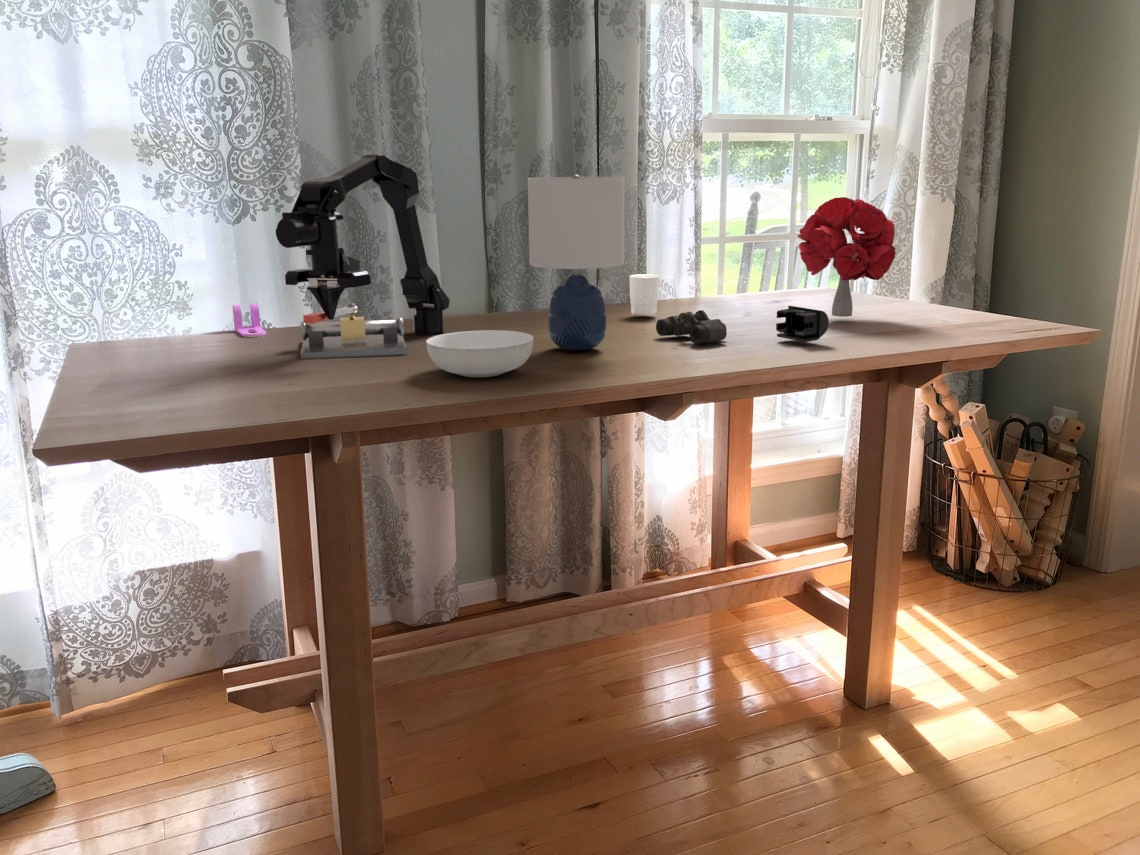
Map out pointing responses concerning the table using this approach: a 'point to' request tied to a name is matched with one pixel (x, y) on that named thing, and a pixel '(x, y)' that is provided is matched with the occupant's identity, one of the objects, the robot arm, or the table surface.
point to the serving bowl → (480, 352)
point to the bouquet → (848, 245)
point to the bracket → (254, 317)
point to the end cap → (802, 324)
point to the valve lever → (322, 316)
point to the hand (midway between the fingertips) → (331, 319)
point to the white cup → (644, 293)
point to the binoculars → (692, 327)
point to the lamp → (576, 249)
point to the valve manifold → (353, 338)
